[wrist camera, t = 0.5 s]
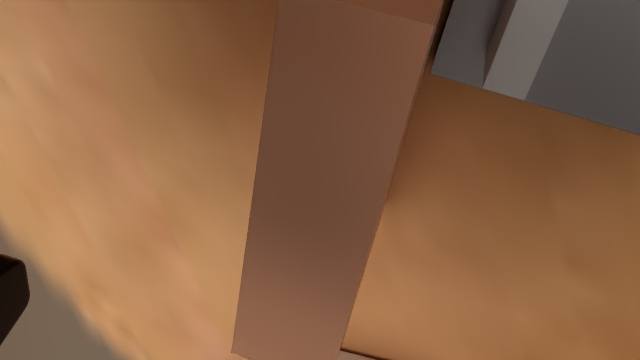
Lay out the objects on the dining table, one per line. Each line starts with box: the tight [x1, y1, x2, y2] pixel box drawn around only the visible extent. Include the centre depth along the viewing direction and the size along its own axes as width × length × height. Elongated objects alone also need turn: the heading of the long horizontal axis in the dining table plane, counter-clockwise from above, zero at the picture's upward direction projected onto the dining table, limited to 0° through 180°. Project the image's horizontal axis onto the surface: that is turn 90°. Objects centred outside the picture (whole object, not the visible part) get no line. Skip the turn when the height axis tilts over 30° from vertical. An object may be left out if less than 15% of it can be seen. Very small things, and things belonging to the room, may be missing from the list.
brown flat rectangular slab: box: [231, 0, 445, 360], centre depth 15 cm, size 2×9×8 cm, turn 170°
